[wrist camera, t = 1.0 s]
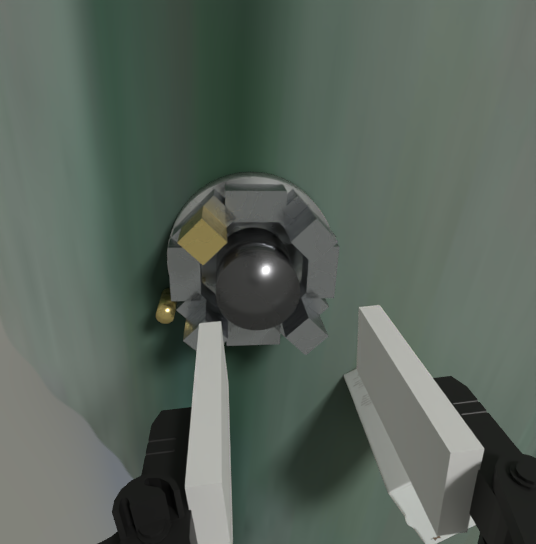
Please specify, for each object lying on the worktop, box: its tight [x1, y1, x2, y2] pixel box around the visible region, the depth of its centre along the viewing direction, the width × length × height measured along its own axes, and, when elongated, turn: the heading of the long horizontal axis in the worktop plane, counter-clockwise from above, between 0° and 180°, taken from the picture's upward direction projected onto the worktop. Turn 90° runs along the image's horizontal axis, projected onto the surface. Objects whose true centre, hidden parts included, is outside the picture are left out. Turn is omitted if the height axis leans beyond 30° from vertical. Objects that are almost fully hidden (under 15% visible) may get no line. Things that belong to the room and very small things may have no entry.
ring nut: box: [168, 184, 339, 355], centre depth 35 cm, size 14×14×6 cm
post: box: [156, 288, 177, 324], centre depth 39 cm, size 2×2×4 cm
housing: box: [167, 172, 330, 330], centre depth 36 cm, size 15×15×9 cm
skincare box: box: [344, 368, 476, 544], centre depth 41 cm, size 8×7×16 cm
